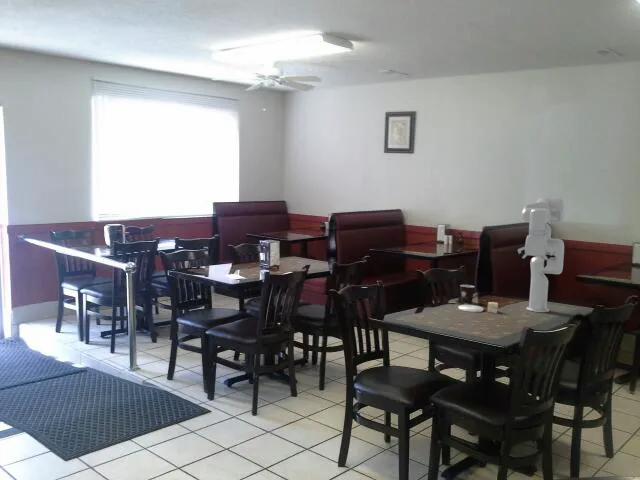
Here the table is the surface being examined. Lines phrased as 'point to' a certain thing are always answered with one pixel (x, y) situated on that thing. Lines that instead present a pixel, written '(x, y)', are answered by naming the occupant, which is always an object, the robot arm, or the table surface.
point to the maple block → (492, 307)
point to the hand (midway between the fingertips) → (534, 266)
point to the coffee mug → (467, 293)
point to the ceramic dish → (470, 308)
